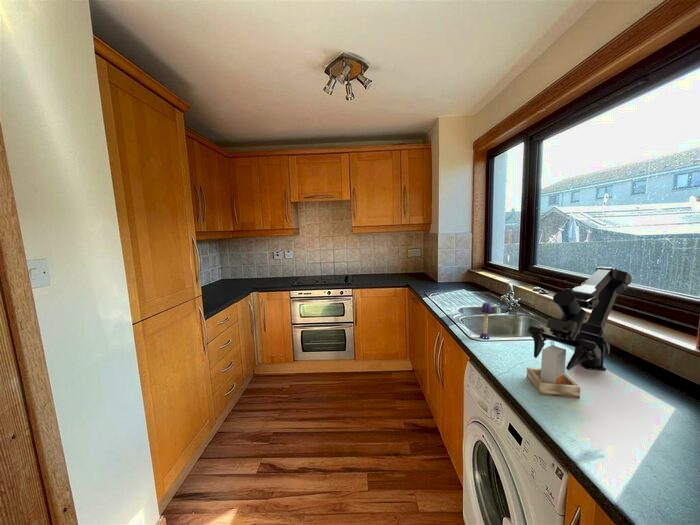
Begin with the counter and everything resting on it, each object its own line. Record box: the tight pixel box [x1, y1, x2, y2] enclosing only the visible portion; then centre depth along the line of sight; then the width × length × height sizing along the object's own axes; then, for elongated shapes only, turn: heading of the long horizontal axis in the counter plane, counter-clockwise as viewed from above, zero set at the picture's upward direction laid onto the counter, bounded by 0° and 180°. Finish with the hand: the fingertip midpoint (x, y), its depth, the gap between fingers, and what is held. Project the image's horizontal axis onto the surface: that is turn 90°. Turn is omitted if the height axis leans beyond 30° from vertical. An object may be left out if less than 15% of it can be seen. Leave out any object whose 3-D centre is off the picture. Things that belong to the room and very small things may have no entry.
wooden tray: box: [526, 367, 581, 399], centre depth 88 cm, size 10×10×4 cm
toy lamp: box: [479, 302, 493, 339], centre depth 127 cm, size 5×5×17 cm
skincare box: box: [540, 345, 567, 385], centre depth 87 cm, size 6×4×12 cm
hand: (550, 363), depth 86 cm, fingers open, 9 cm apart
